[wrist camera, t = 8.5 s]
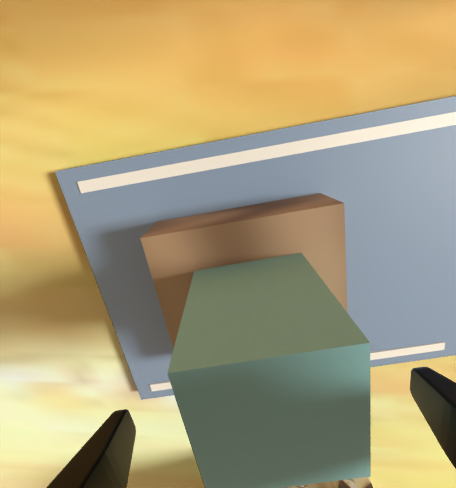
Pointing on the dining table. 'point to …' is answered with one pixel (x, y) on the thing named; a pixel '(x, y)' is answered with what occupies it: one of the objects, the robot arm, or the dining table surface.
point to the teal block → (271, 377)
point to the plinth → (245, 245)
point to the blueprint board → (283, 187)
